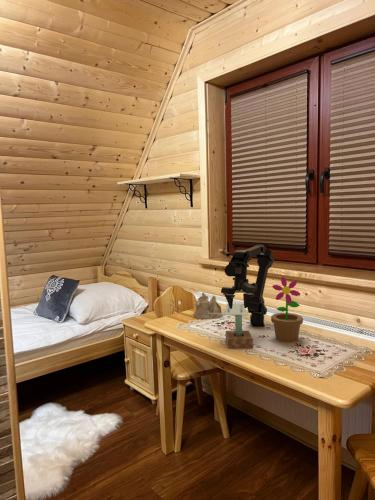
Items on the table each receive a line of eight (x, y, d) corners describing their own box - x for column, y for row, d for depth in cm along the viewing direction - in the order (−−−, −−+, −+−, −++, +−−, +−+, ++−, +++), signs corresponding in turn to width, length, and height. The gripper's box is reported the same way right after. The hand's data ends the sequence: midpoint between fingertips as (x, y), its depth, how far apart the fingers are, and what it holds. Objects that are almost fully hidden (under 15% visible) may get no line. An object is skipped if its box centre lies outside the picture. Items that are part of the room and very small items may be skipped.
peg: (239, 341, 170) (239, 314, 168) (243, 343, 167) (243, 315, 166) (234, 342, 169) (233, 315, 167) (237, 344, 166) (237, 316, 165)
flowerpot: (269, 342, 168) (269, 277, 165) (273, 332, 182) (273, 272, 178) (301, 345, 163) (302, 278, 160) (303, 334, 177) (304, 273, 173)
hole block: (249, 338, 173) (249, 330, 173) (252, 347, 162) (252, 338, 162) (225, 339, 174) (225, 330, 173) (227, 347, 163) (227, 339, 162)
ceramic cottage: (223, 318, 205) (222, 291, 204) (194, 320, 206) (192, 293, 205) (221, 312, 221) (220, 287, 220) (194, 313, 221) (192, 289, 220)
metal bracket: (222, 300, 224) (247, 300, 221) (223, 308, 226) (247, 309, 224) (221, 313, 211) (248, 313, 208) (221, 321, 213) (248, 322, 211)
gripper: (237, 277, 165) (234, 312, 165) (266, 278, 176) (264, 310, 176) (221, 275, 175) (219, 308, 175) (250, 276, 185) (248, 307, 185)
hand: (238, 308), depth 177 cm, fingers open, 9 cm apart
